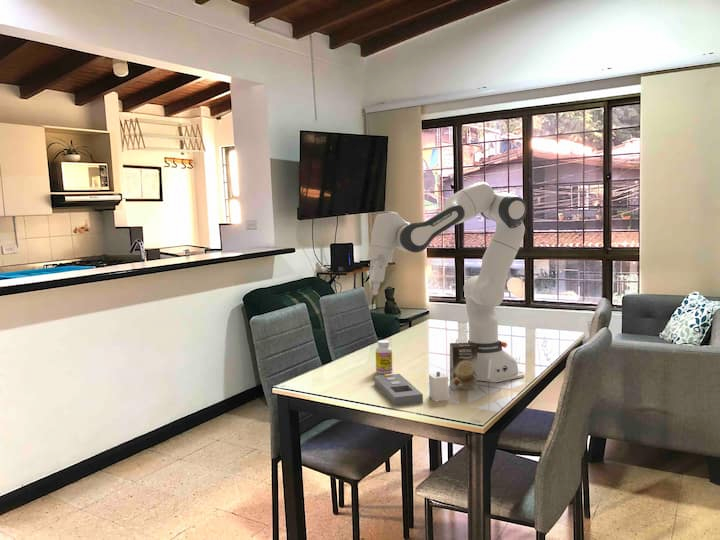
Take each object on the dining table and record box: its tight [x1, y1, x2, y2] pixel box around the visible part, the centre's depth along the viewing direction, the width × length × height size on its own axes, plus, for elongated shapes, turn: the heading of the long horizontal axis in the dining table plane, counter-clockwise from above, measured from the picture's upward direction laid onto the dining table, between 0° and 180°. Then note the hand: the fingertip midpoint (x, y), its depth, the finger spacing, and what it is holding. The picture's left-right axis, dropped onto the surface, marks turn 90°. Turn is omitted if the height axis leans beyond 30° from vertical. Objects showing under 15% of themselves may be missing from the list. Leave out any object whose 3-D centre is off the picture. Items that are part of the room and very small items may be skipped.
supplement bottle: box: [375, 339, 393, 375], centre depth 233 cm, size 7×7×13 cm
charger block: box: [428, 371, 449, 402], centre depth 199 cm, size 5×5×9 cm
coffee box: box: [449, 342, 478, 391], centre depth 210 cm, size 9×6×16 cm
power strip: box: [373, 373, 424, 407], centre depth 207 cm, size 10×26×4 cm, turn 14°
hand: (373, 293), depth 203 cm, fingers open, 8 cm apart
